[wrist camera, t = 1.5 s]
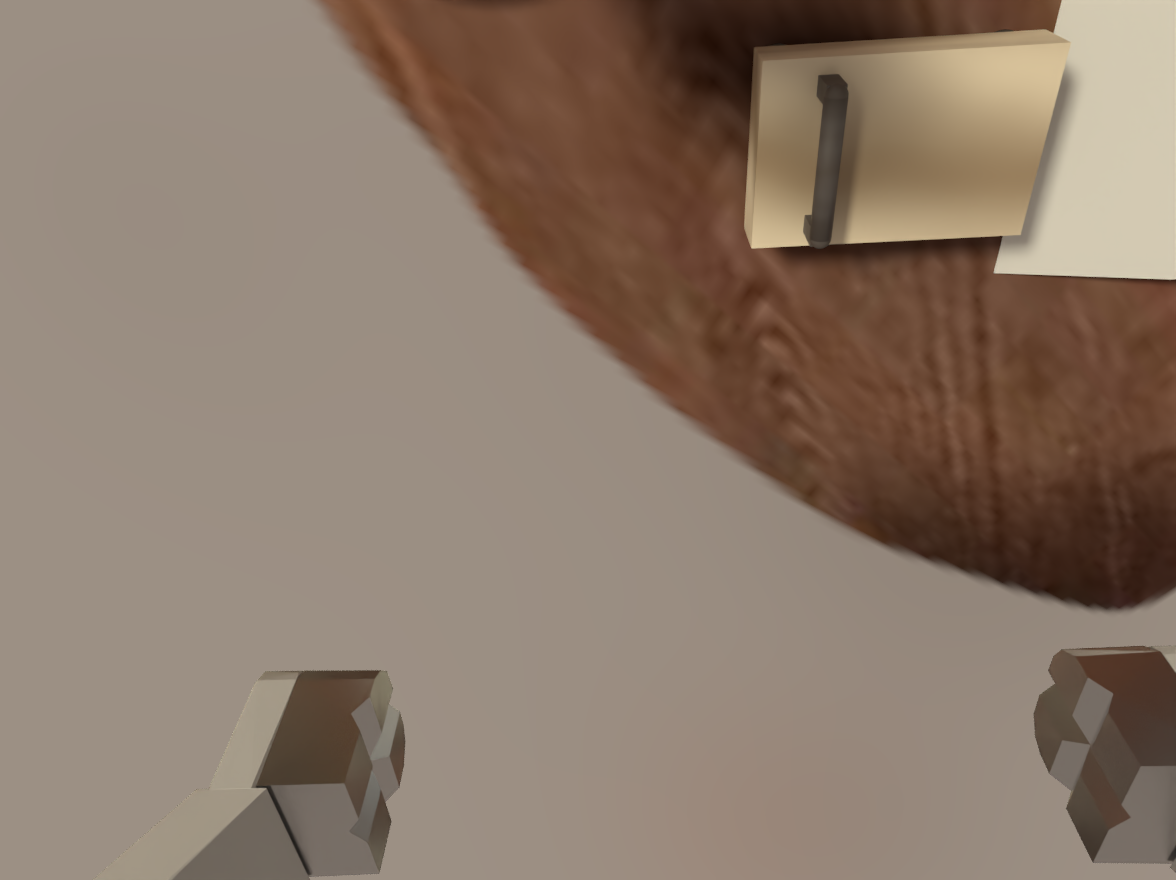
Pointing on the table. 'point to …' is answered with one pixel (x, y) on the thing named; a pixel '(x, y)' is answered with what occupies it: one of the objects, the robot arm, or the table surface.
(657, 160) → the table surface
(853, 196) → the cart
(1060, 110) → the dock
